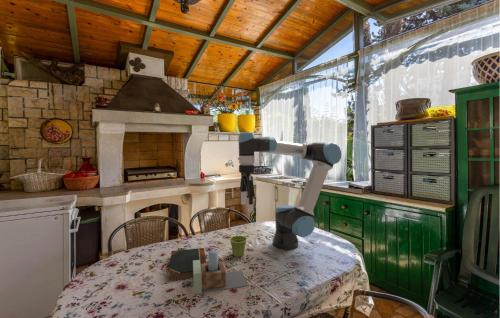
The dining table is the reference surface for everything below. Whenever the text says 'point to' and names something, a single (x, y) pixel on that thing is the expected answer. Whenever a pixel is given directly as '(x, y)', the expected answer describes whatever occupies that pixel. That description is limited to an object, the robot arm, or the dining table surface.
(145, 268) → the dining table surface
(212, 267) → the dowel
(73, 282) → the dining table surface
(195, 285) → the wall
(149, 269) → the dining table surface
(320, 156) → the robot arm
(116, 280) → the dining table surface
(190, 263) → the book
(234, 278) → the runner mat
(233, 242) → the plant pot
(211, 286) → the socket block
